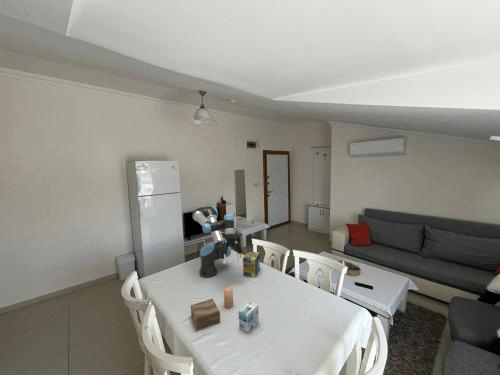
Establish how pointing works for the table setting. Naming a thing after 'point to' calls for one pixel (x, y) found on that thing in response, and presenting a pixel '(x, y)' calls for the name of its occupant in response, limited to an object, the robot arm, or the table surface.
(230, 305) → the terracotta canister
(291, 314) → the table surface
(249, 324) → the light bulb box
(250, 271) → the protein box
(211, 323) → the walnut box
